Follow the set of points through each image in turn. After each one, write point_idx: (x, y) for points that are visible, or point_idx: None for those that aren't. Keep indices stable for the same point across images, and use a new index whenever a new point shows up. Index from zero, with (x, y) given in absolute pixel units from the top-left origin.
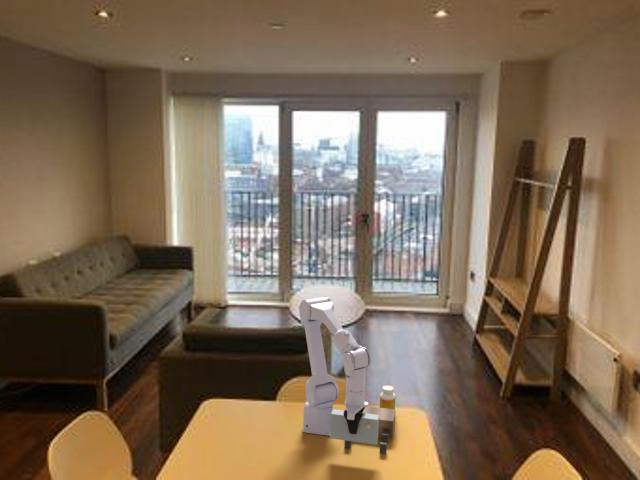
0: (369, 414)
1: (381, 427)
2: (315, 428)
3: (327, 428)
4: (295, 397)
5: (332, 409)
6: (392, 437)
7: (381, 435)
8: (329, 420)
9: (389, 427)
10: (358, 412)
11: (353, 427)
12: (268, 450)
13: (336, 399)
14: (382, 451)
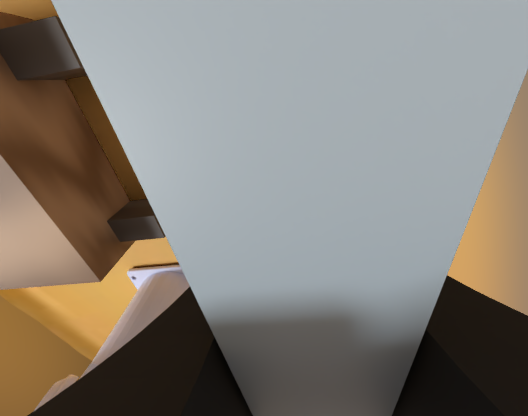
0: (204, 235)
1: (20, 94)
2: None
3: (185, 286)
4: (92, 358)
5: (123, 341)
6: (26, 18)
7: (63, 89)
8: (166, 307)
9: None
10: (238, 379)
11: None
12: None
13: (67, 387)
14: None
